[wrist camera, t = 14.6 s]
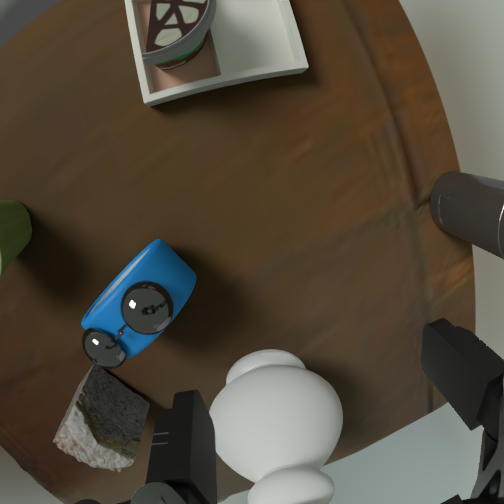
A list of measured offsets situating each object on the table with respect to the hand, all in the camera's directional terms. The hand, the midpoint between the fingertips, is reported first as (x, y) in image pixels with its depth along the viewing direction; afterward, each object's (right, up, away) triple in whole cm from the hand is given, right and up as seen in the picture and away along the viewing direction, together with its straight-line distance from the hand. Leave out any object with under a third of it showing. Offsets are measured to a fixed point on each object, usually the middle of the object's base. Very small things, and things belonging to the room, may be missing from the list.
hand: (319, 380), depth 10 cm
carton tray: (-7, +31, +21) cm, 38 cm away
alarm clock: (-15, +1, +30) cm, 34 cm away
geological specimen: (-24, -18, +35) cm, 46 cm away
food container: (-9, +30, +21) cm, 37 cm away
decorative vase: (0, -16, +37) cm, 40 cm away
